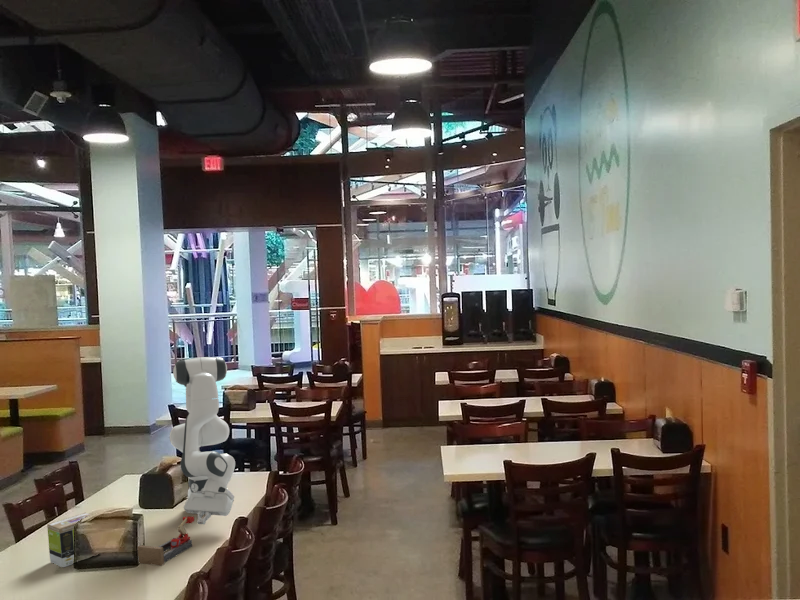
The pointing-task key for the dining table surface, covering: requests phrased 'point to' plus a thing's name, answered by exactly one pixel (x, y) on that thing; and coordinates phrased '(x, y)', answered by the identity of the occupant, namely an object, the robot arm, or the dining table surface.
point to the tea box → (63, 540)
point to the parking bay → (160, 552)
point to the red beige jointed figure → (181, 533)
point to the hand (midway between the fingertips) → (200, 523)
